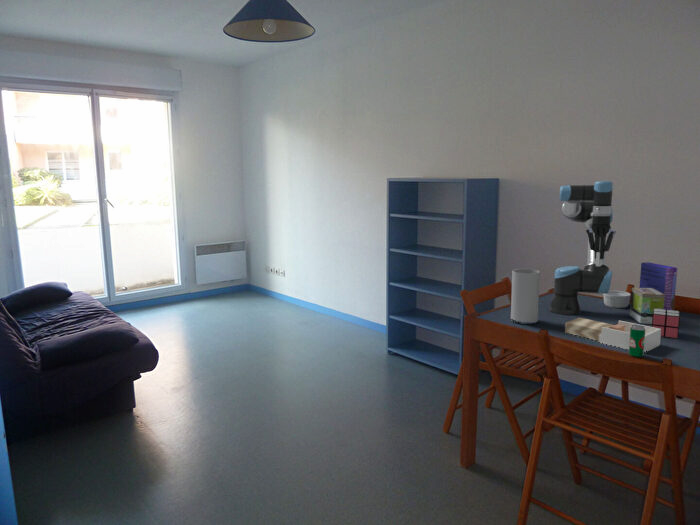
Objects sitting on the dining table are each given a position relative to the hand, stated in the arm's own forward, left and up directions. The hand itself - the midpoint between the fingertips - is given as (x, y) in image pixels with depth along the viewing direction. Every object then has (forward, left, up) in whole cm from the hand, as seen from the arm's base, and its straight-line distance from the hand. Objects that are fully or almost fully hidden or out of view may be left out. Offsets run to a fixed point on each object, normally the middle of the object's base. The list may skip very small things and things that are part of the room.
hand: (598, 265), depth 234 cm
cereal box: (+8, +46, -29) cm, 55 cm away
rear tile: (+17, -17, -25) cm, 34 cm away
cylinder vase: (-25, -20, -29) cm, 43 cm away
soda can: (+31, -29, -29) cm, 51 cm away
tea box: (+12, +25, -29) cm, 40 cm away
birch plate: (+6, -17, -28) cm, 34 cm away
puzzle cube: (+27, +8, -29) cm, 40 cm away
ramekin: (-10, +42, -29) cm, 52 cm away
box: (+23, -17, -28) cm, 40 cm away
